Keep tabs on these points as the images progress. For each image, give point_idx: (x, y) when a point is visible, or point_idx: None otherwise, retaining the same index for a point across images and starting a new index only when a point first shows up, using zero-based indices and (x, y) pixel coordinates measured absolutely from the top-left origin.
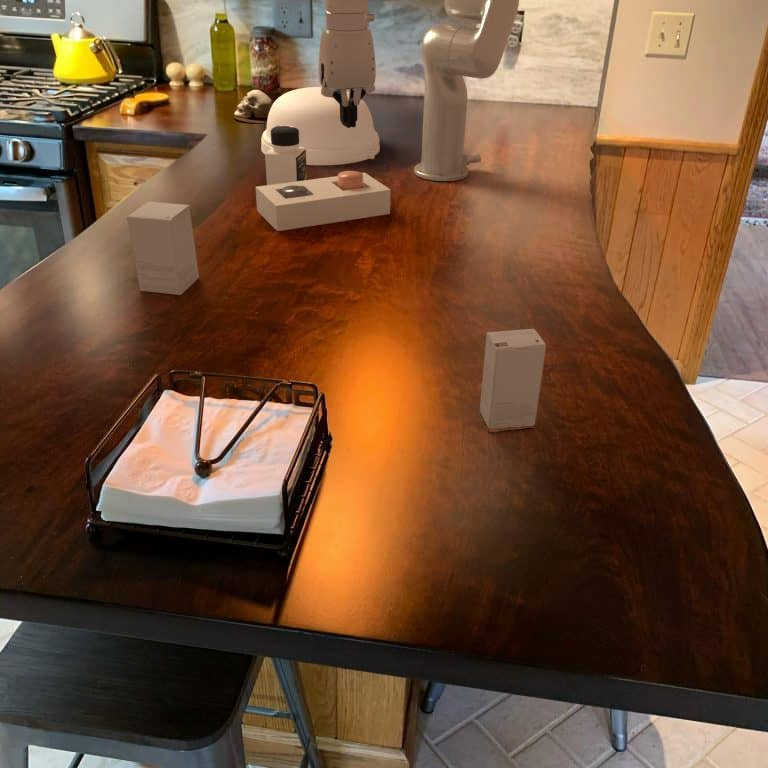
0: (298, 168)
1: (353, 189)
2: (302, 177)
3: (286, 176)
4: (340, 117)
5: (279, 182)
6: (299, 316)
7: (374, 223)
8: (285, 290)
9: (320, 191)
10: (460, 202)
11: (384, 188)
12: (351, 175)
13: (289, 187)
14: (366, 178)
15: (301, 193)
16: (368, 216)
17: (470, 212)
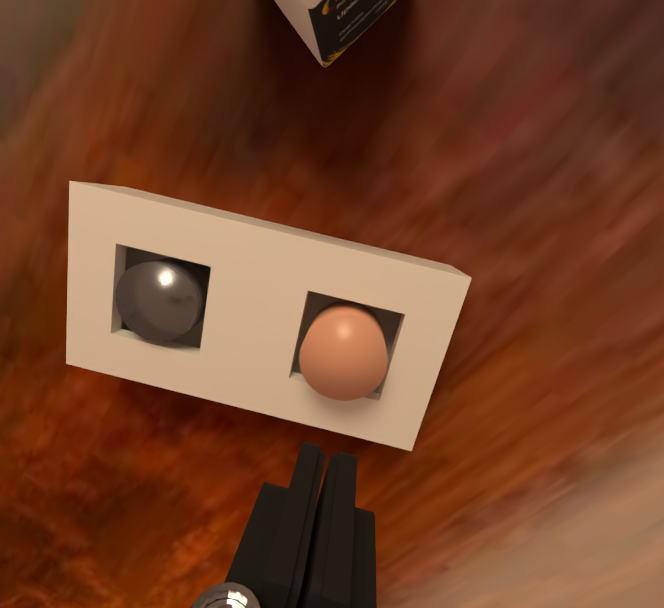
0: (332, 26)
1: None
2: (371, 15)
3: (292, 17)
4: (257, 502)
5: (279, 4)
6: (22, 603)
7: None
8: (31, 541)
9: (227, 344)
10: (611, 458)
11: (404, 434)
12: (339, 370)
13: (149, 276)
14: (427, 332)
15: (159, 340)
16: None
17: (564, 513)
